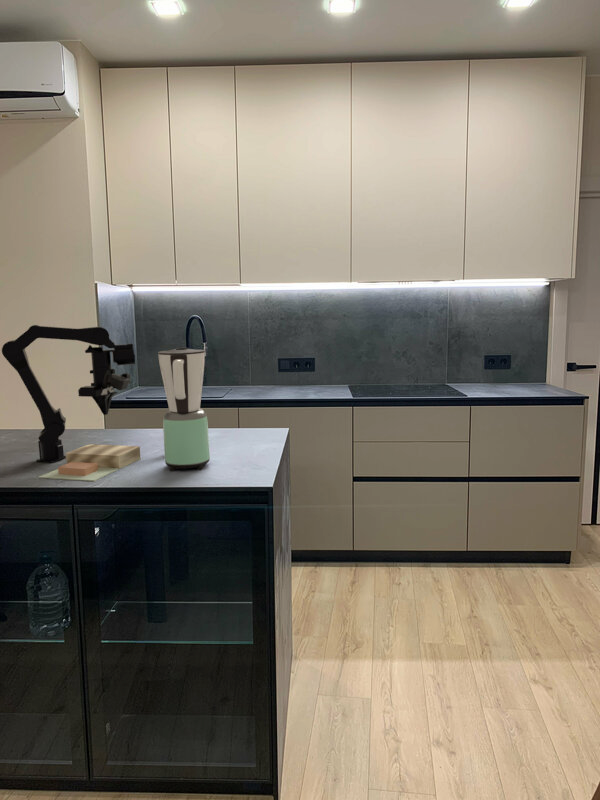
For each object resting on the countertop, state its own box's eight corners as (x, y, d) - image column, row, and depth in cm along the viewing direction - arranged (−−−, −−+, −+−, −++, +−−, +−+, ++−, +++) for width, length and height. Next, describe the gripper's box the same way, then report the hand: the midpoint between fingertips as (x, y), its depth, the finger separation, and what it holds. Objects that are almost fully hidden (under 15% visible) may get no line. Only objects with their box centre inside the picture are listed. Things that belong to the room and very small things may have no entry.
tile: (71, 461, 177) (71, 468, 177) (57, 467, 171) (58, 474, 172) (97, 463, 175) (98, 470, 175) (84, 468, 169) (85, 475, 169)
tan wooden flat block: (66, 466, 181) (65, 453, 181) (90, 456, 193) (89, 444, 192) (119, 469, 177) (118, 455, 176) (140, 458, 188) (139, 446, 187)
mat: (38, 477, 170) (38, 476, 169) (65, 466, 181) (65, 465, 181) (94, 481, 165) (94, 480, 165) (118, 469, 176) (118, 468, 176)
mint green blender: (168, 460, 186) (161, 346, 180) (211, 457, 187) (206, 345, 181) (160, 477, 167) (152, 351, 162) (208, 474, 168) (202, 349, 163)
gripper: (107, 369, 180) (111, 420, 183) (139, 363, 198) (142, 410, 200) (75, 369, 183) (79, 419, 185) (109, 363, 201) (113, 409, 203)
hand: (105, 414), depth 194 cm, fingers closed
